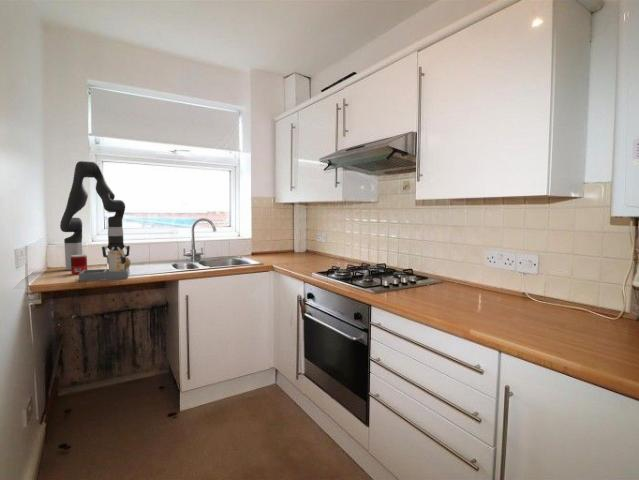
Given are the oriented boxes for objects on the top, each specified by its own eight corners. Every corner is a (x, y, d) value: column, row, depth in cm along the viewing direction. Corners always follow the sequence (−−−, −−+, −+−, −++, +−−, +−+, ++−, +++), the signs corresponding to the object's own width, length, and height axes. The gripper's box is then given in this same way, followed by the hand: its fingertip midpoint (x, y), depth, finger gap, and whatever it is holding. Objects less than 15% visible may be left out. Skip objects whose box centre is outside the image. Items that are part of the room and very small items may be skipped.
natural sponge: (113, 274, 211) (113, 257, 210) (114, 271, 219) (113, 255, 218) (130, 272, 215) (130, 256, 214) (130, 270, 223) (130, 255, 222)
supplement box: (117, 274, 198) (115, 251, 197) (108, 274, 198) (107, 251, 197) (125, 271, 206) (124, 249, 205) (117, 271, 206) (116, 249, 205)
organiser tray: (83, 277, 201) (83, 270, 200) (129, 274, 210) (129, 267, 210) (79, 281, 189) (78, 273, 189) (127, 278, 198) (127, 271, 198)
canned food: (90, 273, 214) (89, 255, 213) (76, 275, 207) (75, 256, 206) (82, 272, 217) (81, 254, 216) (68, 274, 210) (67, 255, 209)
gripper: (130, 234, 207) (131, 262, 208) (101, 234, 201) (103, 263, 202) (129, 235, 200) (130, 264, 201) (99, 235, 194) (101, 265, 195)
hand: (116, 263), depth 201 cm, fingers closed on supplement box, 6 cm apart
